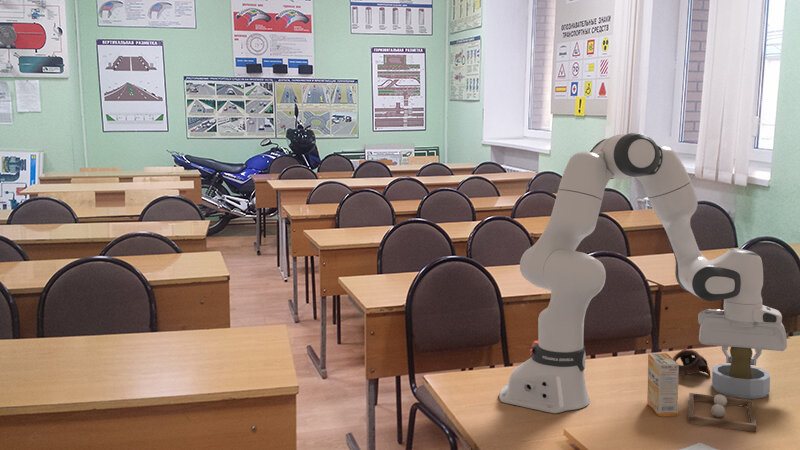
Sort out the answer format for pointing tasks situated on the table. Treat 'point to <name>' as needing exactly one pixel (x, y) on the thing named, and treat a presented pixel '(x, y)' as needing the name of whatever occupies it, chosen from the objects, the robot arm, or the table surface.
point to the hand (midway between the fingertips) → (740, 363)
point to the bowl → (741, 383)
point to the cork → (740, 363)
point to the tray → (720, 422)
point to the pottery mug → (691, 362)
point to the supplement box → (662, 384)
